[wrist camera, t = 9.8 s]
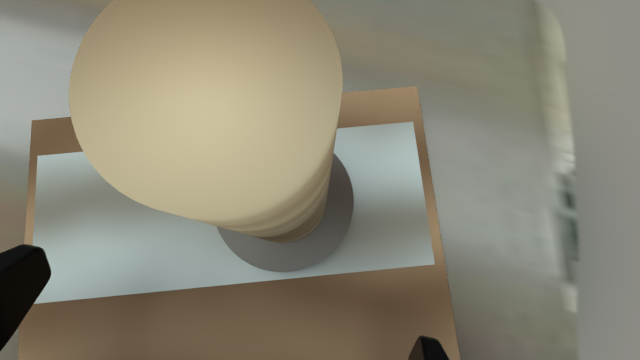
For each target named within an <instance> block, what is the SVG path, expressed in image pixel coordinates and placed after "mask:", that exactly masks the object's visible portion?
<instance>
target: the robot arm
mask: <svg viewBox="0 0 640 360" xmlns="http://www.w3.org/2000/svg"><path fill="white" fill-rule="evenodd" d="M50 277H51V268H50V265H49V262H48V259H47V256H46V253H45V251H44V249H43V248H41V247H38V246H34V245H29V244H23V245H19V246H17V247H14V248H12V249H9V250H7V251H4V252H2V253H0V351H1V350H2V349H3V347H4V346H5V345H6V343H7V342H8V341H9V339H10V338H11V337H12V335H13V334H14V332H15V331H16V330H17V328H18V327H19V325H20V324H21V322H22V321H23V319H24V318H25V316H26V315H27V313H28V312H29V310H30V309H31V307H32V306H33V304H34V303H35V301H36V300H37V298H38V297H39V295H40V294H41V292H42V291H43V289H44V288H45V286H46V285H47V283H48V281H49V279H50ZM408 360H450V359H449V358H448V356H447V354H446V352H445V350H444V349H443V347H442V345H441V343H440V342H439V340H437V339H436V338H433V337H429V336H424V335H420V336H419V337H418V338H417V340H416V342H415V344H414V346H413V348H412V350H411V352H410V354H409V357H408Z"/></svg>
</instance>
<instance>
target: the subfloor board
mask: <svg viewBox="0 0 640 360" xmlns="http://www.w3.org/2000/svg"><path fill="white" fill-rule="evenodd" d="M333 153H334V154H336V156H337V157H338V158H339V159H340V161H341V162H342V164H343V165H344V167H345V168H346V170H347V173H348V175H349V177H350V181H351V184H352V188H353V195H354V206H353V214H352V218H351V222H350V225H349V227H348V230H347V232H346V234H345V236H344V237H343V239H342V241H341V242H340V243H339V245H338V246H337V247H336V248H335V249H334V250H333V251H332V252H331V253H330V254H329V255H328V256H327V257H325V258H324V259H323V260H321V261H319V262H318V263H316V264H314V265H312V266H310V267H307V268H305V269H301V270H298V271H291V272H273V271H267V270H263V269H259V268H257V267H254V266H252V265H250V264H248V263H247V262H245V261H243V260H242V259H240V258H239V257H238V256H237V255H235V254H234V253H233V252H232V251H231V249H230V248H229V247H228V246H227V245H226V243H225V242H224V240H223V239H222V237H221V235H220V233H219V231H218V228H217V226H214V225H210V224H207V223H203V222H199V221H196V220H192V219H189V218H185V217H182V216H178V215H174V214H171V213H167V212H164V211H160V210H157V209H153V208H150V207H148V206H146V205H143V204H141V203H139V202H136V201H134V200H133V199H131V198H129V197H127V196H126V195H124V194H122V193H121V192H119V191H118V190H117V189H116V188H114V187H113V186H112V185H111V184H109V183H108V182H107V181H106V180H105V179H104V178H103V177H102V176H101V175H100V174H99V173H98V172H97V170H96V169H95V168H94V167H93V166H92V164H91V163H90V161H89V160H88V158H87V157H86V155H85V154H84V152H83V150H82V148H81V146H80V144H79V141H78V139H77V137H76V134H75V130H74V127H73V124H72V120H71V117H66V118H55V119H44V120H32V128H31V145H30V161H29V178H28V194H27V211H26V227H25V244H29V245H34V246H38V247H41V248H43V249H44V251H45V253H46V256H47V259H48V262H49V265H50V268H51V277H50V279H49V281H48V283H47V285H46V286H45V288H44V289H43V291H42V292H41V294H40V295H39V297H38V298H37V300H36V301H35V303H34V304H33V306H32V307H31V309H30V310H29V312H28V313H27V315H26V316H25V318H24V319H23V321H22V322H21V324H20V327H19V343H18V360H408V357H409V354H410V352H411V350H412V348H413V346H414V344H415V342H416V340H417V338H418V337H419V336H420V335H424V336H429V337H433V338H436V339H437V340H439V342H440V343H441V345H442V347H443V349H444V350H445V352H446V354H447V356H448V358H449V359H450V360H460V355H459V349H458V342H457V336H456V330H455V323H454V317H453V311H452V304H451V298H450V292H449V285H448V279H447V273H446V266H445V260H444V254H443V247H442V241H441V235H440V228H439V222H438V216H437V209H436V203H435V197H434V190H433V184H432V178H431V172H430V165H429V159H428V153H427V146H426V140H425V134H424V127H423V121H422V115H421V108H420V102H419V96H418V89H417V86H413V87H402V88H391V89H380V90H369V91H357V92H346V93H342V97H341V105H340V111H339V118H338V125H337V132H336V139H335V146H334V152H333Z"/></svg>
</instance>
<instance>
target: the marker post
mask: <svg viewBox="0 0 640 360" xmlns="http://www.w3.org/2000/svg"><path fill="white" fill-rule="evenodd" d="M342 88H343V81H342V66H341V60H340V54H339V51H338V48H337V44H336V41H335V39H334V36H333V34H332V32H331V30H330V28H329V26H328V24H327V22H326V21H325V19H324V18H323V16H322V15H321V13H320V12H319V11H318V9H317V8H316V7H315V6H314V5H313V4H312V3H311V1H310V0H113V1H112V2H111V3H110V4H109V5H108V6H107V7H106V8H105V9H104V10H103V11H102V12H101V13H100V14H99V16H98V17H97V18H96V20H95V21H94V22H93V23H92V25H91V26H90V28H89V30H88V31H87V33H86V35H85V36H84V38H83V40H82V42H81V44H80V47H79V49H78V52H77V54H76V57H75V60H74V64H73V67H72V71H71V78H70V85H69V107H70V113H71V120H72V124H73V127H74V130H75V134H76V137H77V139H78V141H79V144H80V146H81V148H82V150H83V152H84V154H85V155H86V157H87V158H88V160H89V161H90V163H91V164H92V166H93V167H94V168H95V169H96V170H97V172H98V173H99V174H100V175H101V176H102V177H103V178H104V179H105V180H106V181H107V182H108V183H109V184H111V185H112V186H113V187H114V188H116V189H117V190H118V191H119V192H121V193H122V194H124V195H126V196H127V197H129V198H131V199H133V200H134V201H136V202H139V203H141V204H143V205H146V206H148V207H150V208H153V209H157V210H160V211H164V212H167V213H171V214H174V215H178V216H182V217H185V218H189V219H192V220H196V221H199V222H203V223H207V224H210V225H214V226H217V228H218V231H219V233H220V235H221V237H222V239H223V240H224V242H225V243H226V245H227V246H228V247H229V248H230V249H231V251H232V252H233V253H234V254H235V255H237V256H238V257H239V258H240V259H242V260H243V261H245V262H247V263H248V264H250V265H252V266H254V267H257V268H259V269H263V270H267V271H273V272H291V271H298V270H301V269H305V268H307V267H310V266H312V265H314V264H316V263H318V262H319V261H321V260H323V259H324V258H325V257H327V256H328V255H329V254H330V253H331V252H332V251H333V250H334V249H335V248H336V247H337V246H338V245H339V243H340V242H341V241H342V239H343V237H344V236H345V234H346V232H347V230H348V227H349V225H350V222H351V218H352V214H353V206H354V195H353V188H352V184H351V181H350V177H349V175H348V173H347V170H346V168H345V167H344V165H343V164H342V162H341V161H340V159H339V158H338V157H337V156H336V154H334V153H333V152H334V146H335V139H336V132H337V125H338V118H339V111H340V105H341V97H342Z"/></svg>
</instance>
